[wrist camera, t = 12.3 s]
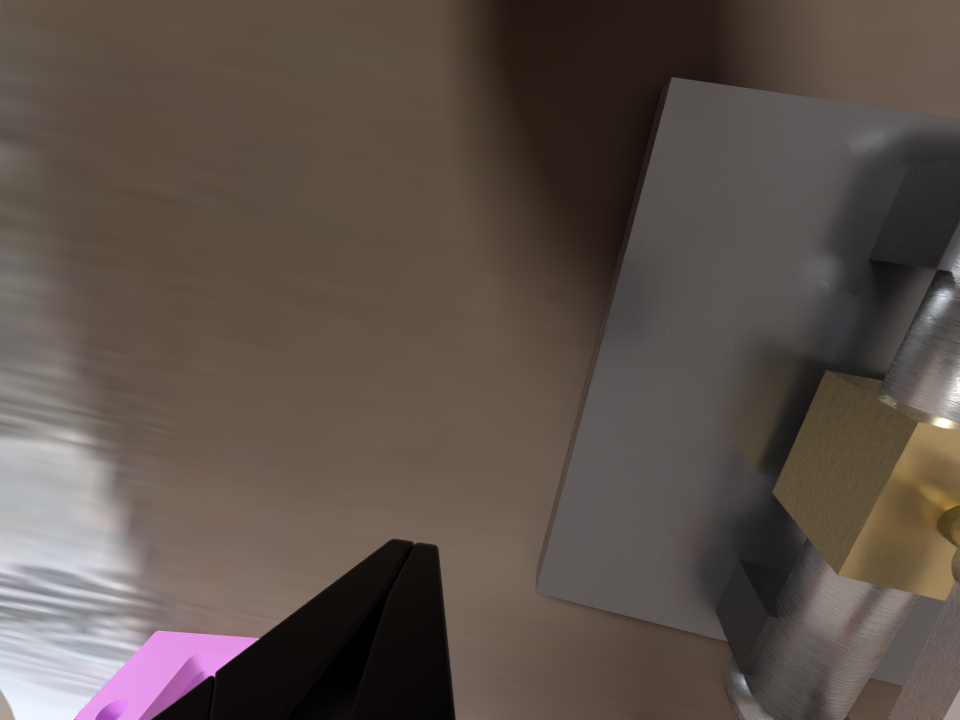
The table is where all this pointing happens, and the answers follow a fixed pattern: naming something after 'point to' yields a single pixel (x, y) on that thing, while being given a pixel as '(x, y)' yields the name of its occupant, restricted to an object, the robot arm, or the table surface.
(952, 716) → the lever
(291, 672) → the robot arm
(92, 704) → the bracket
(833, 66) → the table surface
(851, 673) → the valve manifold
